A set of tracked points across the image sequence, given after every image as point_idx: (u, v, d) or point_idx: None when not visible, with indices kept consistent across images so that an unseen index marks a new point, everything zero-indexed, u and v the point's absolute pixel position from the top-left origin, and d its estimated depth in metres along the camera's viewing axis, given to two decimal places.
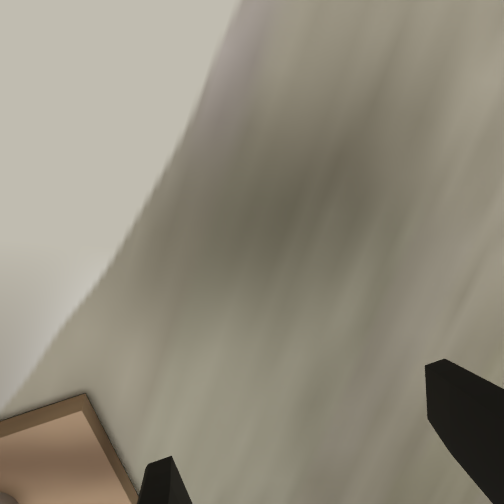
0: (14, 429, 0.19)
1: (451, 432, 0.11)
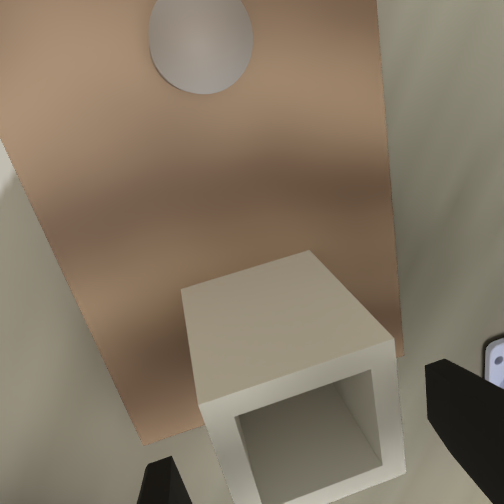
0: None
1: (451, 432, 0.11)
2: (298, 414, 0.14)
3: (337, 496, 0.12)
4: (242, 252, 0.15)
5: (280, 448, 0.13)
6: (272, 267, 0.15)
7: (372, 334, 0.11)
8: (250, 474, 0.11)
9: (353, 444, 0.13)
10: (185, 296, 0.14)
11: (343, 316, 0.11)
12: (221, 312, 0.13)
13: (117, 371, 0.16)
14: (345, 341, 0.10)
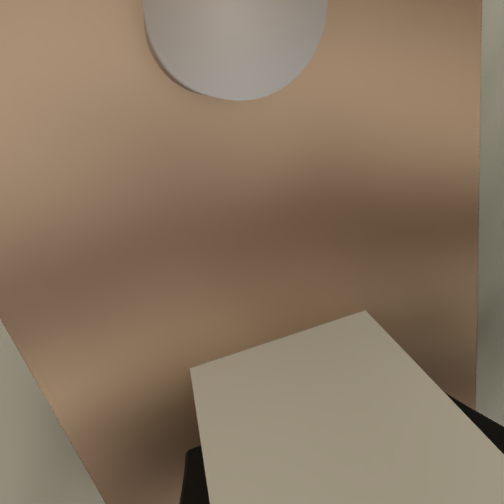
0: None
1: None
2: None
3: None
4: (275, 317, 0.11)
5: None
6: (316, 337, 0.11)
7: None
8: None
9: None
10: (197, 384, 0.10)
11: (452, 450, 0.07)
12: (252, 422, 0.09)
13: (102, 476, 0.11)
14: None
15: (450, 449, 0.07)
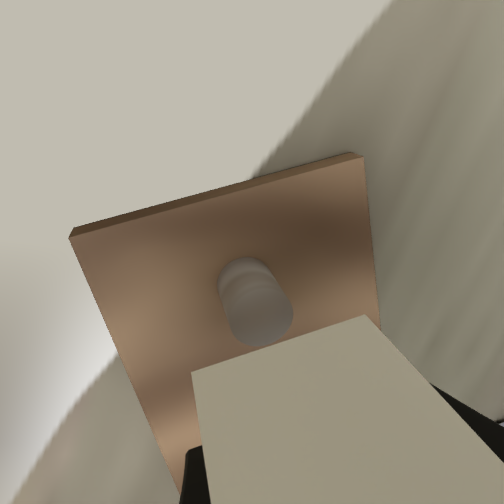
0: (287, 175, 0.17)
1: None
2: None
3: None
4: None
5: None
6: (316, 341, 0.11)
7: None
8: None
9: None
10: (198, 388, 0.10)
11: (450, 455, 0.07)
12: (253, 427, 0.09)
13: (181, 482, 0.21)
14: None
15: (448, 455, 0.07)
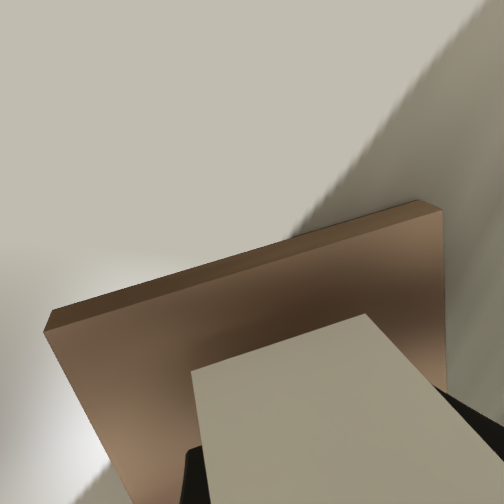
0: (341, 237, 0.12)
1: None
2: None
3: None
4: None
5: None
6: (316, 340, 0.11)
7: None
8: None
9: None
10: (198, 387, 0.10)
11: (450, 454, 0.07)
12: (253, 425, 0.09)
13: None
14: None
15: (448, 454, 0.07)
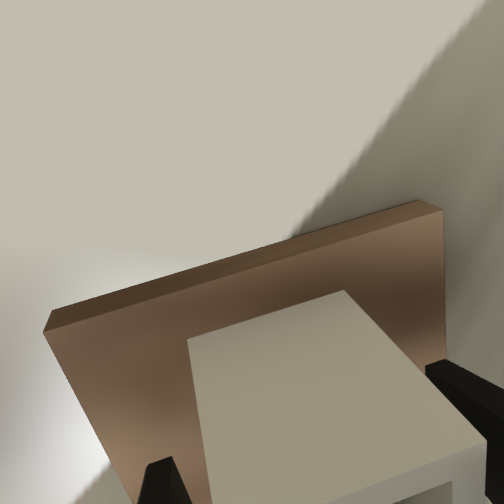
0: (341, 237, 0.12)
1: None
2: None
3: None
4: None
5: None
6: (299, 312, 0.12)
7: (453, 431, 0.08)
8: None
9: None
10: (193, 351, 0.12)
11: (406, 396, 0.09)
12: (240, 380, 0.10)
13: None
14: (416, 441, 0.08)
15: (404, 396, 0.09)
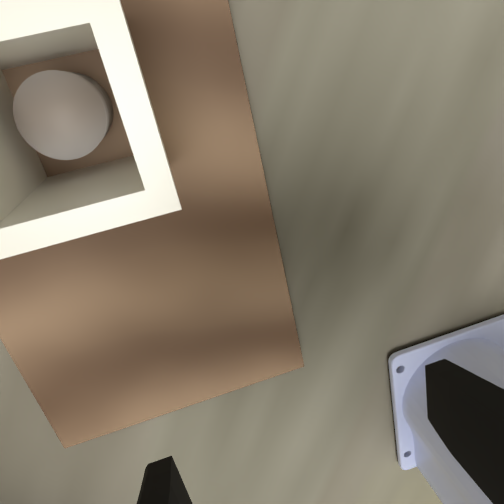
0: None
1: (451, 432, 0.11)
2: (91, 182, 0.12)
3: (95, 231, 0.10)
4: (141, 279, 0.17)
5: (51, 200, 0.11)
6: None
7: None
8: None
9: (128, 185, 0.11)
10: None
11: None
12: None
13: (34, 383, 0.18)
14: None
15: None
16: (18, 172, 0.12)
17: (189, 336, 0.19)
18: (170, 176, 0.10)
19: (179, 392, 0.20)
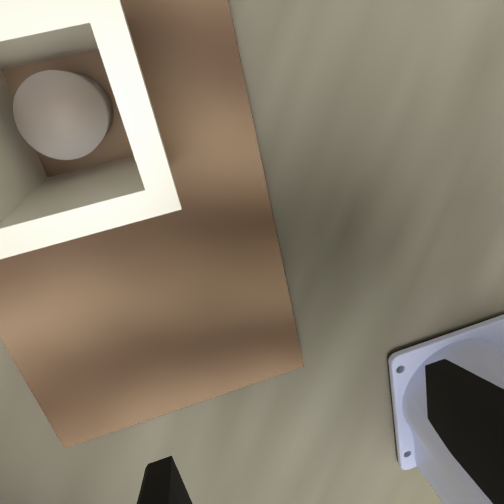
0: None
1: (451, 432, 0.11)
2: (91, 182, 0.12)
3: (95, 231, 0.10)
4: (141, 279, 0.17)
5: (51, 200, 0.11)
6: None
7: None
8: None
9: (128, 185, 0.11)
10: None
11: None
12: None
13: (34, 383, 0.18)
14: None
15: None
16: (18, 172, 0.12)
17: (189, 336, 0.19)
18: (170, 176, 0.10)
19: (179, 392, 0.20)
